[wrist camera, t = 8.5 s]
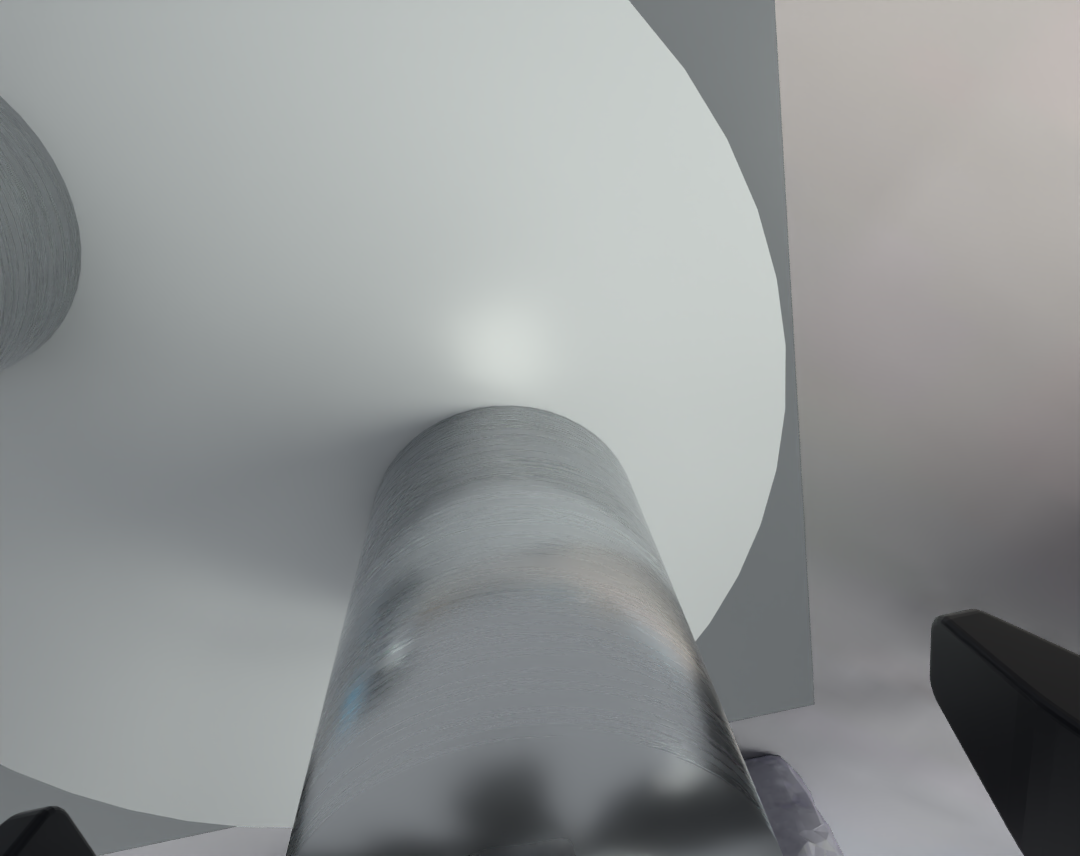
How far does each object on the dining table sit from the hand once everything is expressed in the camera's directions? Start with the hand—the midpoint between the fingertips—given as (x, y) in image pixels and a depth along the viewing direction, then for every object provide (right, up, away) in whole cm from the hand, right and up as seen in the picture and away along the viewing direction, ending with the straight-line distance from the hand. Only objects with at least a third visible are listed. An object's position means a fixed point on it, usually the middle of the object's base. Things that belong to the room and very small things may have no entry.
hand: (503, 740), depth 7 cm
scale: (-4, +4, +6) cm, 8 cm away
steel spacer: (0, +2, +4) cm, 4 cm away
